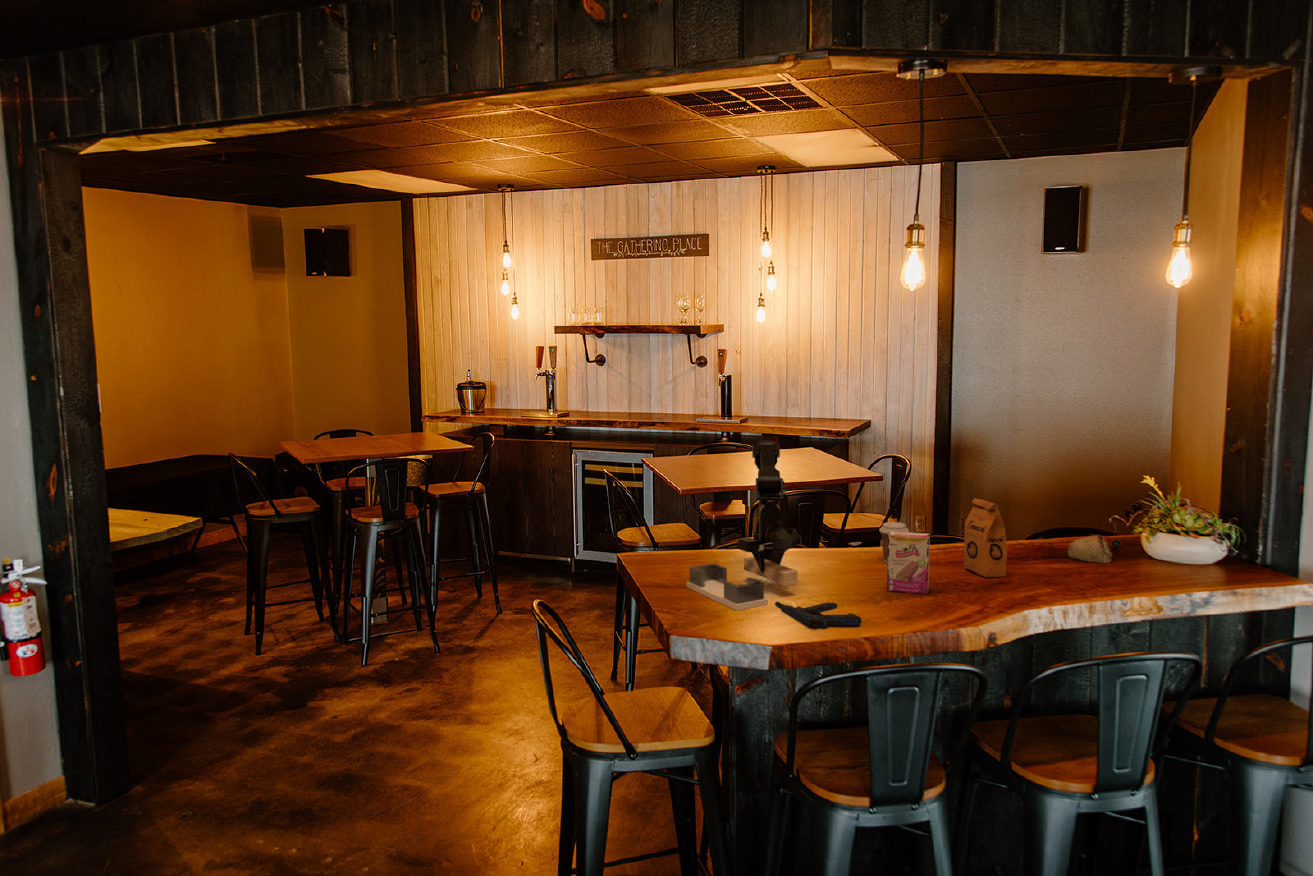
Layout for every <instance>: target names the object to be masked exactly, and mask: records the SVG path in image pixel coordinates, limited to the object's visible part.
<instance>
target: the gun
mask: <svg viewBox="0 0 1313 876" xmlns="http://www.w3.org/2000/svg"><path fill="white" fill-rule="evenodd" d="M774 605H775V606H776V607H777V608H779V609H780V611H782V612H783V613H785V614H786V615H788V616H789V617H792V618H793V619H795V620H796V621H798V622H800V623H801V624H802V625H805V626H807V627H808V628H810V629H812V630H815V629H821V628H827V627H838V628H839V627H840V628H842V627H843V628H844V627H845V628H846V627H847V628H849V627H851V628H852V627H859V626H861V624H862V617H861V616H859V615H856V614H854V613H851V612H849V613H847V614H824V612H828V611H832V610H835V609H838V604H837V602H824V603H820V604H814V605H811V606H807V607H802V606H796V607H794V606H793V605H787V604H784V603H782V602H779V601H775V602H774Z"/></svg>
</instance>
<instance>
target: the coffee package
mask: <svg viewBox="0 0 1313 876" xmlns="http://www.w3.org/2000/svg"><path fill="white" fill-rule="evenodd" d="M971 503H972V504H973V506H972V508H971V510H970V512H969V513H968V516H967V518H966V520H965V522H964V539H963V540H964V541H963V542H964V545H963V546H964V548H963V559H964V561H963V562H964V564H963V568H965V569H967V570H970V571H971V572H974V573H975V574H976V575H980V576H982V577H984V578H986V577H989V578H992V577H995V578H1003V577H1004V576H1005V577H1007V561H1008V560H1007V559H1008V547H1007V546H1008V545H1007V536H1006V535H1007V534H1006V528H1005V524H1004V521H1003V519H1002V516H1001V512H1000V510H999V507H998V505H997V503H993V502H991V501H988V500H984V499H980V498H976V497H975V498H973V499H972V501H971Z"/></svg>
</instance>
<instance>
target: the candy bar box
mask: <svg viewBox="0 0 1313 876" xmlns="http://www.w3.org/2000/svg"><path fill="white" fill-rule="evenodd" d="M930 537H931V535H930V533H919V532H909V533H907V532H892V531H890V532H889V535H888V563H887V573H886V575H887V576H886V577H887V578H886V580H887V581H886V590H887V592H894V593H895V592H896V593H904V594H907V593H908V594H916V595H917V594H920V595H921V594H922V595H928V592H929V577H930V575H929V574H930V543H931V542H930V541H931V540H930V539H931V538H930Z"/></svg>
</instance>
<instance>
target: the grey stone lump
mask: <svg viewBox="0 0 1313 876" xmlns="http://www.w3.org/2000/svg"><path fill="white" fill-rule="evenodd" d="M1067 556H1068V557H1069V558H1071V559H1074V560H1078V559H1079V560H1078V561H1083V562H1086V561H1088V562H1087V563H1089V562H1098V563H1097V564H1100V563H1108V564H1110V563H1111V562H1112V557H1113V553H1112V551H1111V548H1110V546H1109V542H1108V541H1107V539H1105V538H1103V536H1102V535H1101V534H1096V535H1093V534H1092V535H1090V536H1086V537H1082V538H1080V539H1075V540H1074V541H1073V542H1072V541H1071V543H1070V544H1069V546H1068V549H1067ZM1109 562H1110V563H1109Z"/></svg>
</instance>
